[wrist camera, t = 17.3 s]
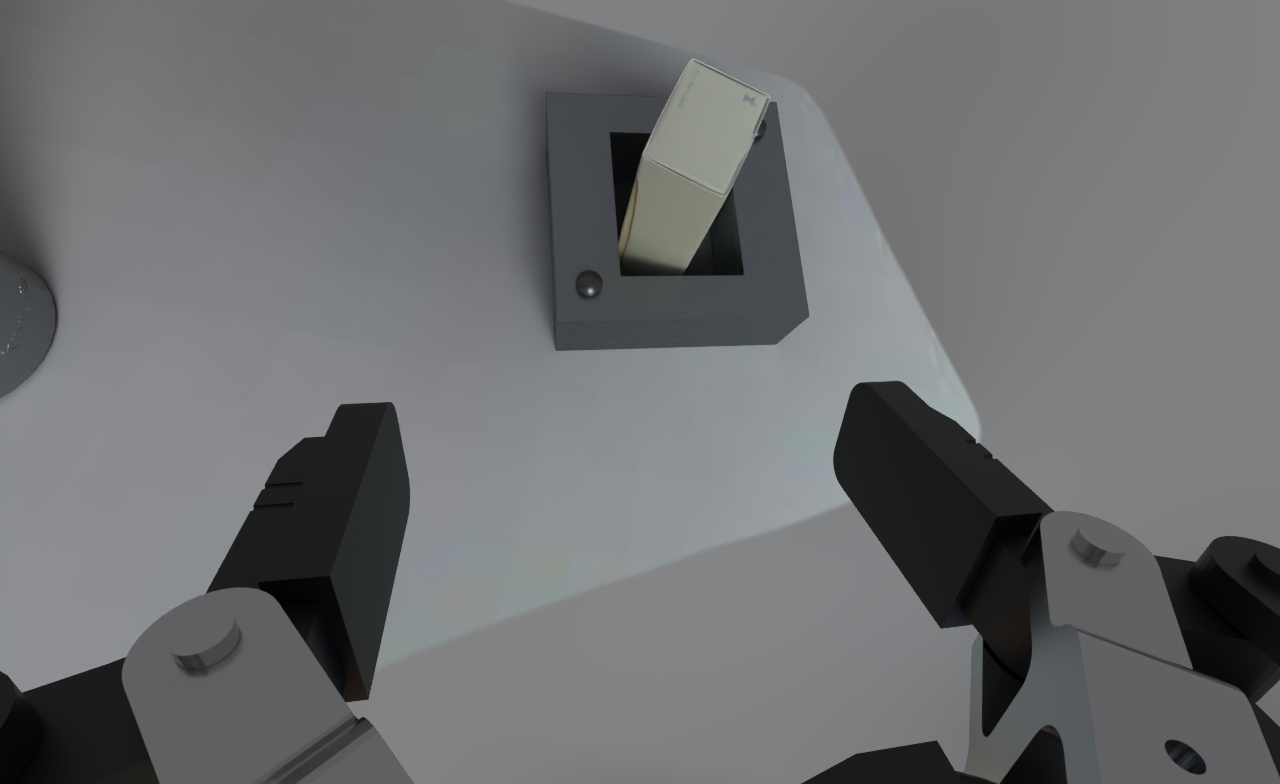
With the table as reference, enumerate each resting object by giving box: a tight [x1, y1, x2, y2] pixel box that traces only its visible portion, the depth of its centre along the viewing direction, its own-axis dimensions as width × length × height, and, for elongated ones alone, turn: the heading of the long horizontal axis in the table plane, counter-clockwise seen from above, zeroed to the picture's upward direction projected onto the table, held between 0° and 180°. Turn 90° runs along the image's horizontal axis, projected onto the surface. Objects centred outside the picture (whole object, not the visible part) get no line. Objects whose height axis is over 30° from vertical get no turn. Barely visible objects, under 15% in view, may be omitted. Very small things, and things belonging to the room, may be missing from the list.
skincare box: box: [618, 58, 771, 276], centre depth 33 cm, size 6×4×12 cm
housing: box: [546, 92, 809, 351], centre depth 36 cm, size 14×14×5 cm
